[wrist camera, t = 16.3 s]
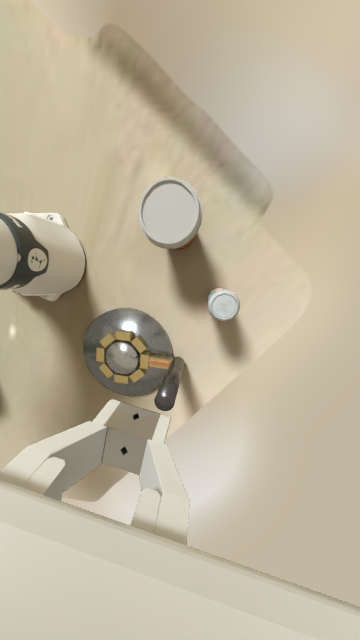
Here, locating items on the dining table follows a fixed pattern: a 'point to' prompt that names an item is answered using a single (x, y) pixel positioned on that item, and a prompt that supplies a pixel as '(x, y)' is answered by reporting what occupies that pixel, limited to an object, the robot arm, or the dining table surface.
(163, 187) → the disposable coffee cup
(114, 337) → the tan handled ring
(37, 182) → the dining table surface
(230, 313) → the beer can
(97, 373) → the flange
